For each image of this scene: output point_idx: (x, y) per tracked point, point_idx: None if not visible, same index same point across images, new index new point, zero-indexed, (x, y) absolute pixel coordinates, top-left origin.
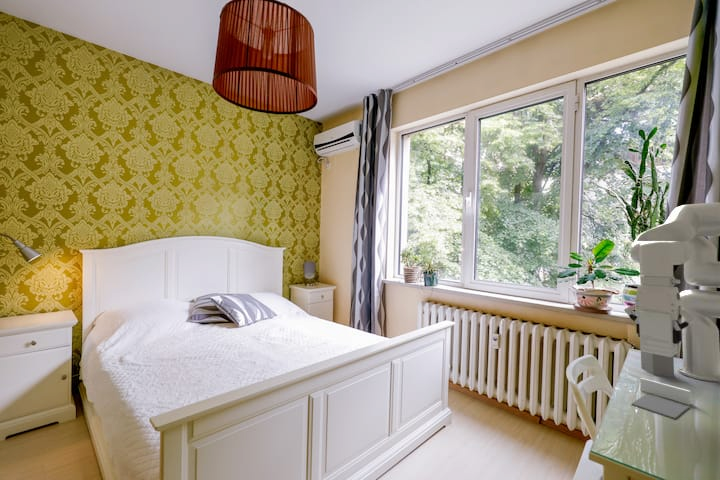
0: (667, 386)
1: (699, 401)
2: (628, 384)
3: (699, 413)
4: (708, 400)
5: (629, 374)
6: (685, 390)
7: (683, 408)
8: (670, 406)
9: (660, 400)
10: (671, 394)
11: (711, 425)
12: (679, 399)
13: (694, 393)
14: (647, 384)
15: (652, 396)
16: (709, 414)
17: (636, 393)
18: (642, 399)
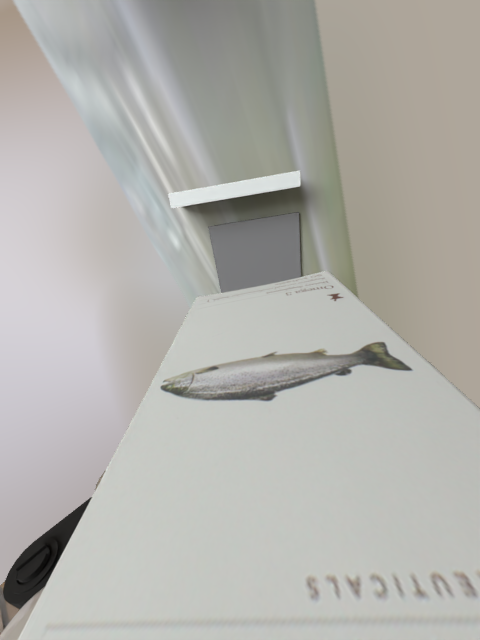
0: (244, 195)
1: (298, 120)
2: (139, 190)
3: (321, 227)
4: (312, 71)
5: (58, 57)
6: (290, 186)
7: (295, 242)
8: (274, 259)
9: (246, 242)
10: (253, 194)
11: (351, 274)
12: (271, 191)
13: (265, 33)
14: (194, 204)
15: (224, 234)
16: (337, 209)
17: (192, 242)
18: (224, 278)
